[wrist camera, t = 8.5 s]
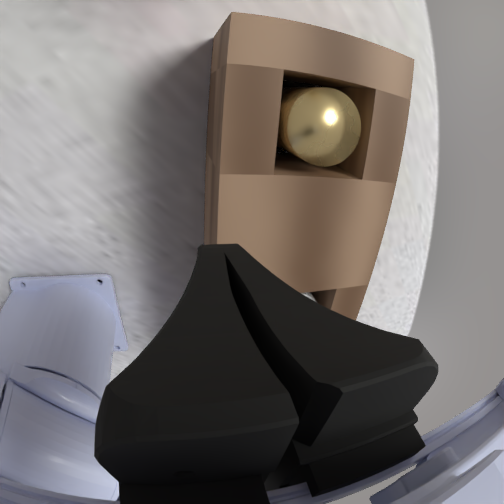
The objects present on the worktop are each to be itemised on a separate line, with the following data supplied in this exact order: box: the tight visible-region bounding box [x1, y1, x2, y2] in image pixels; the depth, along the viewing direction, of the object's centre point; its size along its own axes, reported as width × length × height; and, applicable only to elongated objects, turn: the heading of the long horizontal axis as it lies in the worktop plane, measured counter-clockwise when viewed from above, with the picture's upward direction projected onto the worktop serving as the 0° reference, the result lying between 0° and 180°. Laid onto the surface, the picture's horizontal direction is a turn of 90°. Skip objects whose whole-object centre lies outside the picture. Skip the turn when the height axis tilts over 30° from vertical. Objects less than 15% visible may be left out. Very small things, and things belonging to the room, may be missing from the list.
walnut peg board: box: [204, 12, 414, 321], centre depth 18 cm, size 10×22×6 cm, turn 175°
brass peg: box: [277, 87, 361, 167], centre depth 15 cm, size 4×4×6 cm
